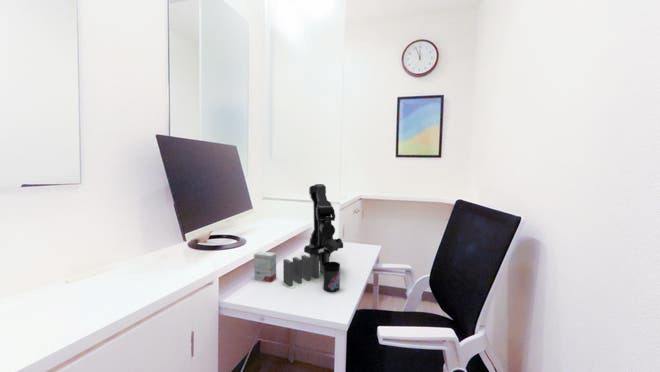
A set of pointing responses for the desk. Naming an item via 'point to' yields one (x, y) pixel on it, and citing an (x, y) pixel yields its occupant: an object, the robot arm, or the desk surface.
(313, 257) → the domino
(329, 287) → the supplement container
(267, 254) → the ink box
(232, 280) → the desk surface
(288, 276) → the domino
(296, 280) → the domino
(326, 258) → the domino
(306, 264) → the domino
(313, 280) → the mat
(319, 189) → the robot arm
